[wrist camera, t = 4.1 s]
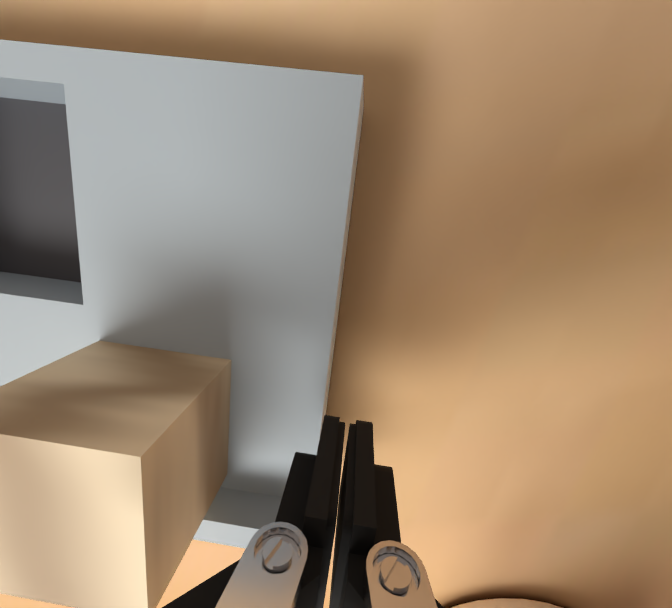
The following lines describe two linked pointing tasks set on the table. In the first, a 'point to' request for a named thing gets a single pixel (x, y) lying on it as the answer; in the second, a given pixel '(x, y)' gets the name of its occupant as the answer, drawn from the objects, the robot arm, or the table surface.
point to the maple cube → (108, 472)
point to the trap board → (183, 234)
